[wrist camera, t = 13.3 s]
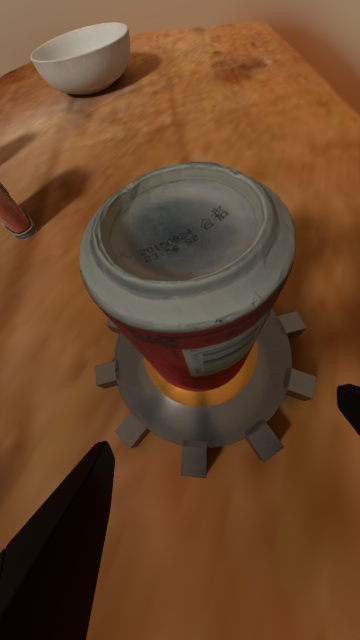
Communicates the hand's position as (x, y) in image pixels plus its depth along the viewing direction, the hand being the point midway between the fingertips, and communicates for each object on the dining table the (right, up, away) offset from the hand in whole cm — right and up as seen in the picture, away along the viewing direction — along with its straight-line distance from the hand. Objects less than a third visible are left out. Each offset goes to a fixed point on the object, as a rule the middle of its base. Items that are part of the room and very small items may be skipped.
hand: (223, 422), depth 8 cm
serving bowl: (-22, +58, +42) cm, 75 cm away
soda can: (0, +2, +9) cm, 9 cm away
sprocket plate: (0, +1, +10) cm, 11 cm away
